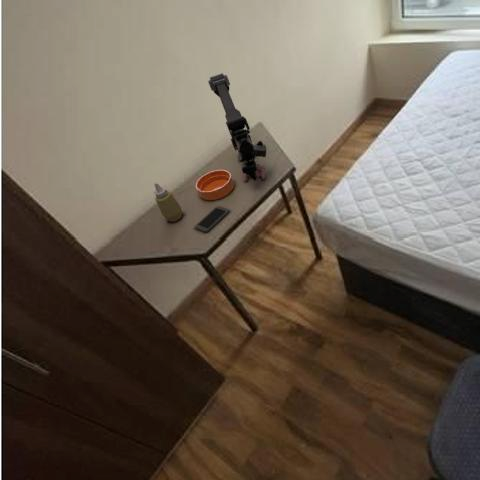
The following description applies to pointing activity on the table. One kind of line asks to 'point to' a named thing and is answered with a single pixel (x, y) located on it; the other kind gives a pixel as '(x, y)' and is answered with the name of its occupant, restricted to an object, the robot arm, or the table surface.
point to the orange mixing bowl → (215, 184)
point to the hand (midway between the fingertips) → (254, 174)
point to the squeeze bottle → (167, 204)
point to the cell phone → (211, 219)
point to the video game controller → (259, 172)
